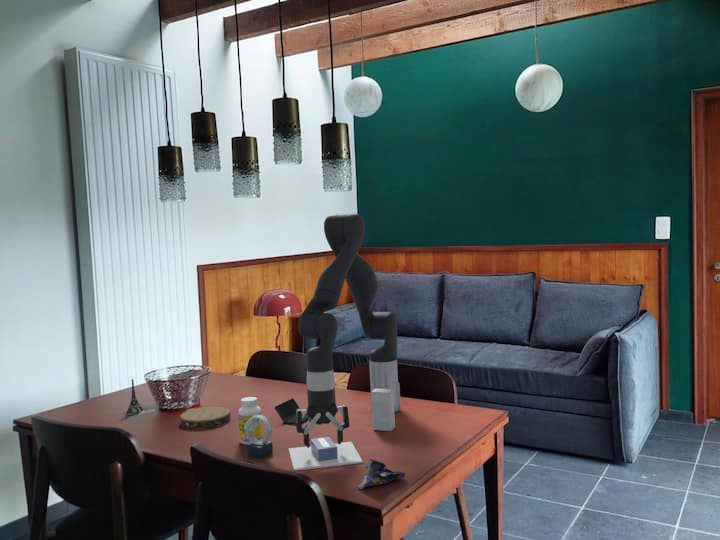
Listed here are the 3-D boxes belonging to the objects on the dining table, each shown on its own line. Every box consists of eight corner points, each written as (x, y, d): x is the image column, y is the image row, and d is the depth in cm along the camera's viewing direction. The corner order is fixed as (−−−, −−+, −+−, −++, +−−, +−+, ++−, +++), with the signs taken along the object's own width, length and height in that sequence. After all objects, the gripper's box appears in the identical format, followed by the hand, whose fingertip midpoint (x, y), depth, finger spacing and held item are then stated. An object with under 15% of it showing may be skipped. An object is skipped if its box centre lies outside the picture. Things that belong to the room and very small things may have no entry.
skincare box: (395, 427, 197) (393, 388, 196) (391, 431, 193) (389, 392, 192) (376, 426, 199) (375, 388, 198) (372, 430, 195) (370, 391, 194)
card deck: (337, 458, 171) (337, 446, 170) (318, 461, 169) (318, 449, 169) (329, 447, 179) (328, 436, 179) (311, 450, 178) (310, 438, 177)
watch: (255, 449, 182) (253, 411, 181) (277, 453, 178) (275, 414, 177) (242, 455, 177) (239, 416, 177) (264, 460, 173) (262, 420, 172)
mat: (351, 443, 184) (351, 441, 184) (362, 462, 168) (362, 461, 168) (288, 450, 180) (288, 448, 180) (294, 470, 165) (293, 468, 164)
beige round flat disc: (237, 423, 209) (236, 414, 209) (188, 433, 201) (188, 423, 201) (221, 412, 223) (221, 403, 222) (175, 421, 215) (175, 412, 214)
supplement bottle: (235, 442, 189) (232, 399, 188) (252, 436, 194) (250, 394, 193) (250, 447, 184) (247, 403, 184) (267, 440, 189) (265, 397, 189)
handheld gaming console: (305, 421, 202) (287, 395, 205) (288, 434, 204) (271, 408, 206) (318, 415, 213) (301, 391, 215) (302, 428, 214) (286, 403, 217)
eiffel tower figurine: (121, 422, 217) (118, 383, 216) (107, 416, 224) (105, 379, 223) (161, 411, 228) (159, 374, 227) (147, 406, 235) (145, 371, 234)
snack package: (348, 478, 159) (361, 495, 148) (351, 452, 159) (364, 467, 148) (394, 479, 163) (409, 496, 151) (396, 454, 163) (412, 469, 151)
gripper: (295, 392, 168) (299, 452, 169) (349, 387, 171) (352, 446, 172) (293, 385, 175) (296, 443, 176) (344, 380, 178) (347, 438, 179)
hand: (323, 445), depth 174 cm, fingers open, 8 cm apart
